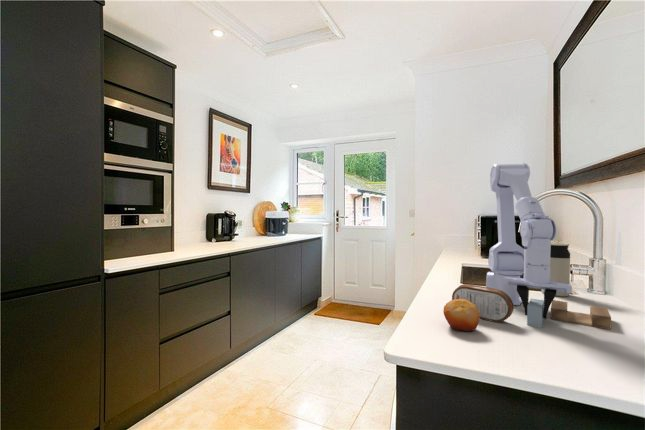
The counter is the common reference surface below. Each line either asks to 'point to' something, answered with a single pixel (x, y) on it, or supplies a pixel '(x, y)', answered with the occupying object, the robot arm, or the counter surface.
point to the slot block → (581, 315)
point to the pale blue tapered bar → (535, 312)
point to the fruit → (461, 314)
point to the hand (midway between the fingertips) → (535, 316)
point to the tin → (486, 301)
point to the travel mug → (559, 265)
